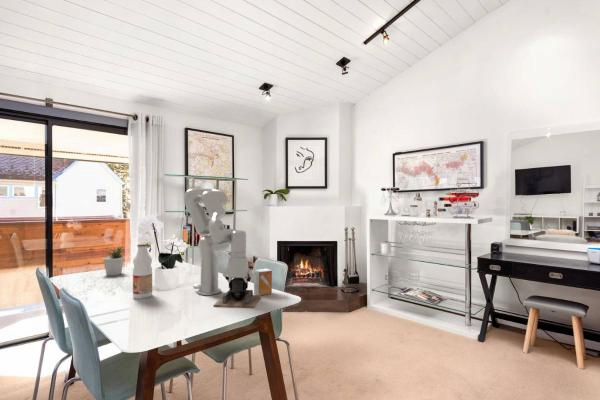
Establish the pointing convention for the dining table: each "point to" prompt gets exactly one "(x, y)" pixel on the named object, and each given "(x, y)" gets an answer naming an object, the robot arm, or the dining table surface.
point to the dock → (238, 300)
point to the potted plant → (114, 262)
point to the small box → (263, 281)
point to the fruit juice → (142, 273)
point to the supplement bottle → (238, 288)
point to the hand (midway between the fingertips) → (238, 289)
